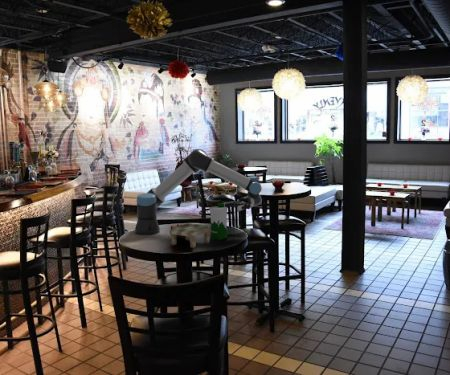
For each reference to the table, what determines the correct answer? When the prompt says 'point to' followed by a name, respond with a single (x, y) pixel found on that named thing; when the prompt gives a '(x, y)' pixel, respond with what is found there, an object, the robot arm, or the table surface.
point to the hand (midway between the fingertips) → (228, 207)
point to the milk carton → (218, 221)
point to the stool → (190, 233)
